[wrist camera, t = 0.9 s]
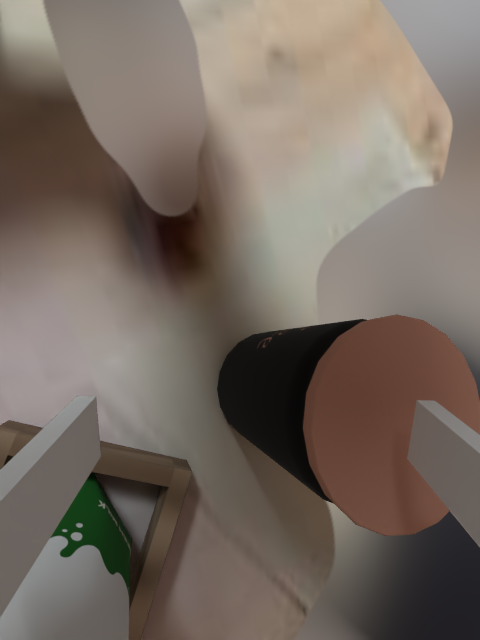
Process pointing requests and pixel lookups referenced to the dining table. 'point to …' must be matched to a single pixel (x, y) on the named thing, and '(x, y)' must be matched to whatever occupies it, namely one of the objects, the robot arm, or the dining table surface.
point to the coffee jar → (350, 410)
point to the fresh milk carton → (76, 577)
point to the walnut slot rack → (174, 480)
